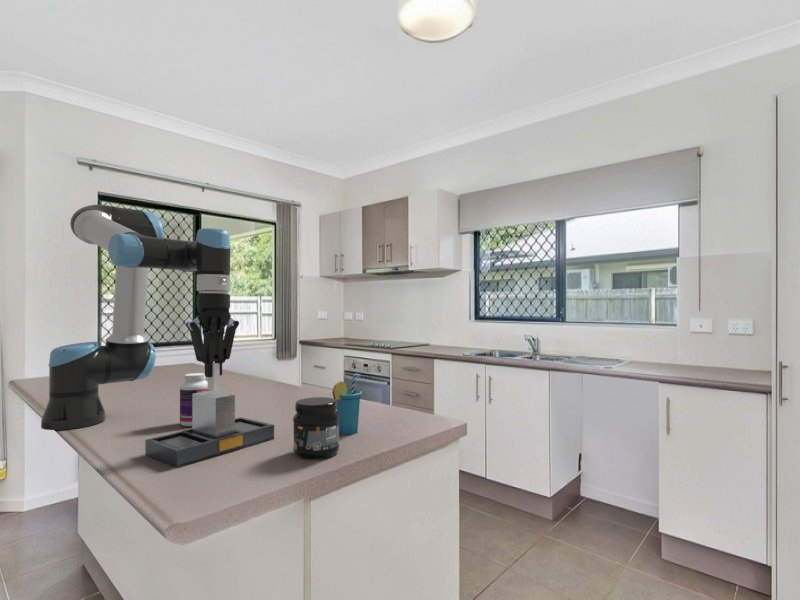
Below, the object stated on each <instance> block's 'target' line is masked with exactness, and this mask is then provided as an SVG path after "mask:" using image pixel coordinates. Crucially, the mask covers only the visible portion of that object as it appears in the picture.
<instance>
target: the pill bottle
mask: <svg viewBox="0 0 800 600" xmlns="http://www.w3.org/2000/svg"><path fill="white" fill-rule="evenodd" d="M206 378H207V377H205V372H203V373H202V372H196V373H194V372H193V373H192V372H191V373H186V374H184V381H185V382H182V383H181V385H180V386H179V424H180V425H181V426H182V427H189V428H190V427H191V428H192V394H193V393H199V392H205V391H210V390H208V380H206Z"/></svg>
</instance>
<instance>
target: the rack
mask: <svg viewBox="0 0 800 600" xmlns="http://www.w3.org/2000/svg"><path fill="white" fill-rule="evenodd" d="M274 439H275V424H272V423H267V422H263V421H259V420H254V419H250V418H246V417H241V416H240V417H235V434H233V435H230V436H226V437H222V438H218V439H215V440H214V439H210V438H207V437H204V436H200V435H197V434H194V433H192V428H190V429H185V430H182V431H178V432H177V431H176V432H173V433H168V434H165V435H160V436H156V437H152V438H147V439H144V440H145V442H144V443H145V446H144V447H145V449H144V450H145V456H146V457H148V458H151V459H154V460H155V461H158V462H161V463H163V464H165V465H168V466H170V467H172V468H176V469H180V468H183V467H186V466H189V465H193V464H196V463H199V462H203V461H206V460H209V459H214V458H216V457H219V456H222V455H226V454H229V453H232V452H235V451H239V450H243V449H246V448H249V447H252V446H255V445H259V444H262V443H265V442H269V441H272V440H274Z"/></svg>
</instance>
